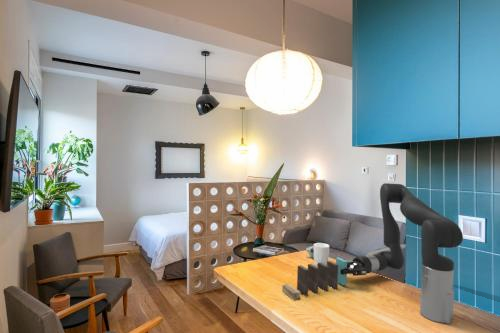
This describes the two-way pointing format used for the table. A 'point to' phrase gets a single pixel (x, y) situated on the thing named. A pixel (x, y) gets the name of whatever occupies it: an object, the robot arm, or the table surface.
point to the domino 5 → (341, 265)
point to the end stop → (291, 291)
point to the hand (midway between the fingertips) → (336, 269)
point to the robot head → (310, 251)
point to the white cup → (321, 253)
